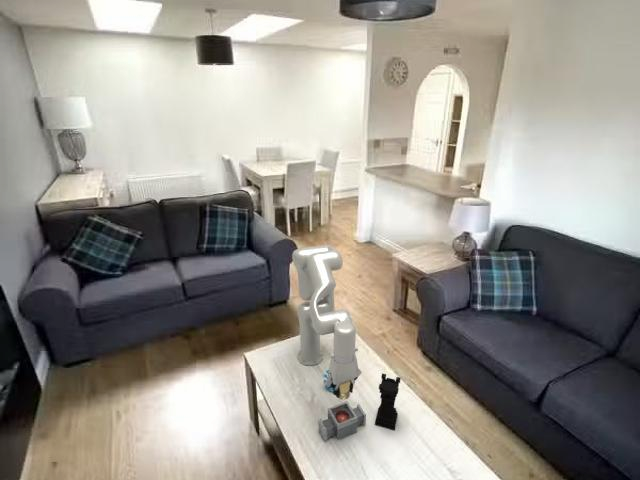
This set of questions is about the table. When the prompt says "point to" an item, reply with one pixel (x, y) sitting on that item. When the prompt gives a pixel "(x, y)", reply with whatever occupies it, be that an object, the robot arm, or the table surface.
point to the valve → (341, 421)
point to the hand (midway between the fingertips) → (343, 392)
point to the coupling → (344, 390)
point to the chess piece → (387, 403)
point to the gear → (327, 378)
